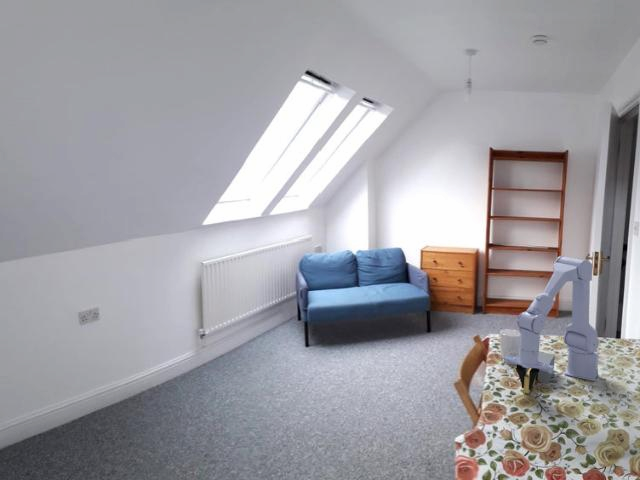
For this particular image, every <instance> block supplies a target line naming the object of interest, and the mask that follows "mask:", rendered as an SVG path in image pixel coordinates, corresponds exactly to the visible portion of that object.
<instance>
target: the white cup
mask: <svg viewBox="0 0 640 480" xmlns="http://www.w3.org/2000/svg"><path fill="white" fill-rule="evenodd" d="M499 345H500V346H499V350H500V358H502V359H504V360H505V357H506V356H510V357H519V353H520V333H519V330H515V329H510V328H506V329H501V330H500V331H499Z"/></svg>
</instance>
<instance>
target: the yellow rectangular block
mask: <svg viewBox="0 0 640 480" xmlns="http://www.w3.org/2000/svg"><path fill="white" fill-rule="evenodd" d="M530 370H531V368H530V369H529V370H528V372H527V374H526V375H525V377H524V389H523V393H525V394H530V392H531V390H529V381H530V377H529V371H530ZM535 383H536V379H535V380H534V383H533V386H534V385H535Z"/></svg>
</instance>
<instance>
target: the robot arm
mask: <svg viewBox="0 0 640 480" xmlns="http://www.w3.org/2000/svg"><path fill="white" fill-rule="evenodd" d="M552 269H553V273H552V275H551V277H550V279H549V281H548V283H547V284H546V287H545V288H544V290H543V292H542V293H538V294H536V296H535V297H534V299H533V301H532V302H531V304H530V305H529V306H528V308H527V309H526V311H523V312H521V313H520V314H519V315H518V317H517V320H516V324H517V327H518V331H519V333H520V353H519V357H510V356H506V357H505V359H504V364H506V365H507V364H510V365H515V366H516V367H515V370H516V373H517V376H519V381H520V385H521V389H523V390H524V377H525V375H526V369H527V368H531V370H530V371H529V377H530V381H529V390H530V391H532V389H533V387H534V385H533V383H534V380H535V381H536V378H537V377H538V373H539V371H540V370H542V371H546V372H548V373H552V372H553V373H554V371H553V366H552V365H548V364H545V363H543V362H540V361H538V357H539V352H540V337H541V332H542V331H543V330H544V329H545V326H546V321H547V316H548V315H549V312H550V311H551V310H552V308H553V307H554V305H555V301H554V299H555V297H556V296H557V295H558V293H559V292H560V291H561V290H562V288H563V287H564V286H565V284H566V283H567V282H572V294H571V295H572V298H571V299H572V301H571V302H572V303H571V304H572V305H571V307H572V310H571V323H569V324H568V325H566V326H565V332H564V334H563V341H564V344H565V345H566V349H568V355H567V367H566V369H565V372H564V375H565V376H569V377H573V378H578V379H584V380H587V381H592V382H596V379H597V376H598V374H599V369H598V368H599V353H598V352H596V351H597V349H598V348H599V344H600V341H599V337H598V330H597V329H595V328H594V327H593V326H592V325H591V324H590V301H591V299H590V297H591V295H590V292H591V291H590V289H591V281H592V280H593V263H592V262H591V261H589V260H588V259H580V258H576V257H568V256H565V255H560V256H558V257H557V258H556V260H555V261H554V264H553V268H552ZM534 384H535V383H534Z"/></svg>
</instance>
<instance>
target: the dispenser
mask: <svg viewBox="0 0 640 480" xmlns="http://www.w3.org/2000/svg"><path fill="white" fill-rule="evenodd" d="M538 361H540V362H543V363H545V364H548V365H552V366H553V372H552V373H548V372H546V371H542V370H540V371H539V373H538V374H537V381H538V382H540V383H545V384H549V382H550V380H551V379H552V377H553V374H554V368H555V354H552V353H549V352H542V351H539V357H538ZM529 369H530V368H527V369H526V374H527V372H528V370H529Z"/></svg>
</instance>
